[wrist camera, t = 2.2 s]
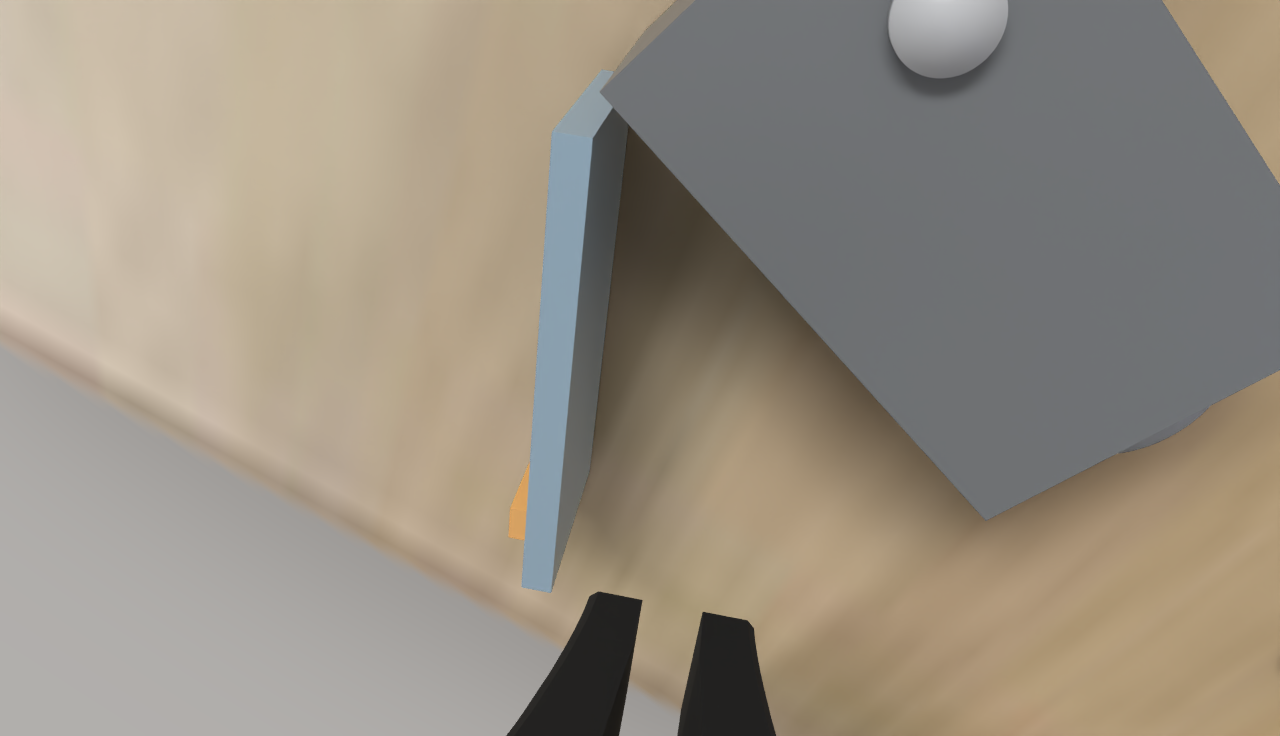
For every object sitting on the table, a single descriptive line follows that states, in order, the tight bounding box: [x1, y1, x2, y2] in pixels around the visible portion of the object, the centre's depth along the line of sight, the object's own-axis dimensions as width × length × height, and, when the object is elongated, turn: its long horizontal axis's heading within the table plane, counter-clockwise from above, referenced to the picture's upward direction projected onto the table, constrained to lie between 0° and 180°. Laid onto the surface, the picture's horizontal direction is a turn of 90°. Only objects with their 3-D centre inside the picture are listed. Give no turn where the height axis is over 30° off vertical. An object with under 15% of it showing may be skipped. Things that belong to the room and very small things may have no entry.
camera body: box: [600, 0, 1280, 521], centre depth 14 cm, size 10×6×5 cm, turn 43°
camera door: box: [509, 70, 629, 593], centre depth 17 cm, size 9×1×4 cm, turn 173°
